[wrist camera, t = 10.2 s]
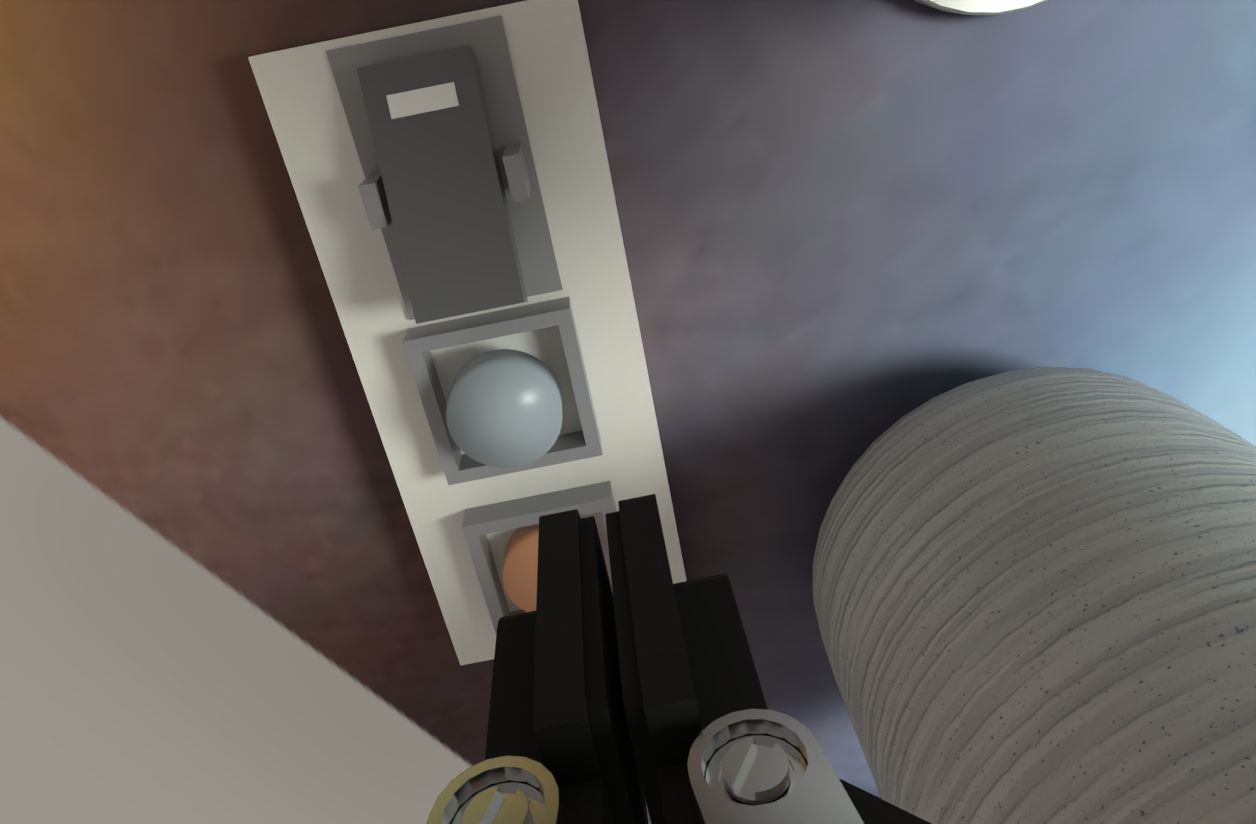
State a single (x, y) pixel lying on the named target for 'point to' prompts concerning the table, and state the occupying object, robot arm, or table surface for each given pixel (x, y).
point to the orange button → (522, 567)
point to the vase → (1049, 605)
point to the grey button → (505, 408)
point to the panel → (437, 350)
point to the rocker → (443, 183)
